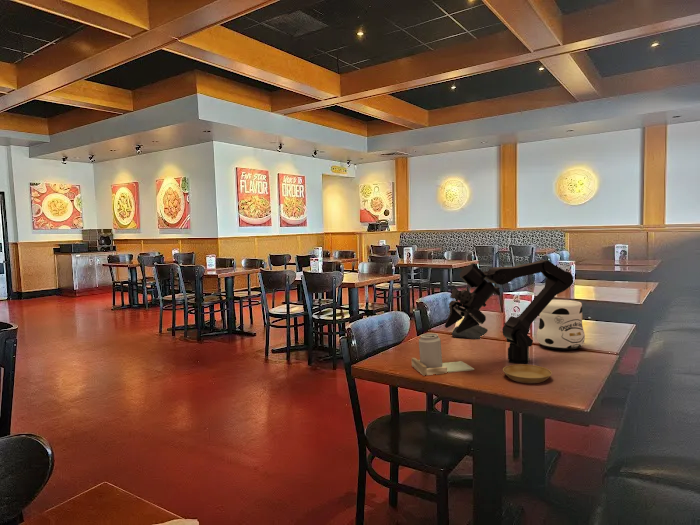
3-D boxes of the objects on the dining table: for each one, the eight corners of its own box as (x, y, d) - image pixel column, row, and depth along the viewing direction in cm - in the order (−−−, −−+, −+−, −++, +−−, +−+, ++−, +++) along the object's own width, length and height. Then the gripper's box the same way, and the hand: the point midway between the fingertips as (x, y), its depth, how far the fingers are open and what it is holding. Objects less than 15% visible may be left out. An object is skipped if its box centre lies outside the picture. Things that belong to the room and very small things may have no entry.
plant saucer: (558, 377, 156) (558, 369, 156) (541, 389, 145) (541, 380, 145) (514, 369, 166) (514, 361, 166) (495, 380, 155) (494, 372, 155)
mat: (461, 362, 176) (461, 361, 176) (474, 369, 166) (474, 368, 166) (435, 364, 174) (435, 363, 174) (446, 372, 164) (446, 371, 164)
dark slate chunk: (446, 338, 215) (445, 328, 215) (456, 328, 235) (456, 319, 235) (481, 341, 209) (481, 330, 208) (488, 330, 229) (488, 320, 228)
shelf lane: (434, 364, 174) (433, 355, 174) (447, 373, 163) (447, 364, 163) (411, 366, 173) (411, 357, 173) (423, 375, 161) (423, 366, 161)
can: (442, 372, 164) (439, 337, 163) (420, 372, 165) (417, 337, 164) (442, 365, 171) (440, 331, 170) (421, 365, 172) (418, 332, 172)
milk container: (579, 355, 180) (579, 307, 179) (531, 349, 191) (531, 303, 190) (589, 345, 194) (589, 300, 193) (544, 340, 205) (544, 298, 203)
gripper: (453, 278, 178) (425, 310, 176) (476, 283, 159) (445, 319, 158) (473, 298, 180) (446, 330, 178) (498, 306, 162) (468, 341, 160)
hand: (450, 329), depth 169 cm, fingers open, 9 cm apart
